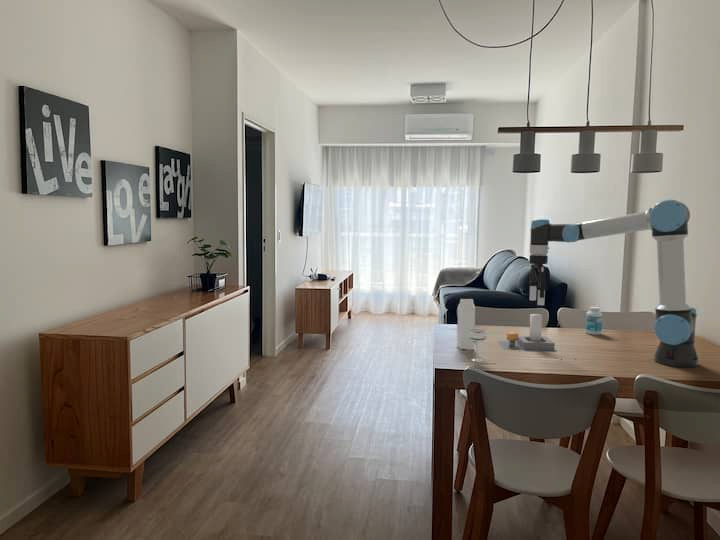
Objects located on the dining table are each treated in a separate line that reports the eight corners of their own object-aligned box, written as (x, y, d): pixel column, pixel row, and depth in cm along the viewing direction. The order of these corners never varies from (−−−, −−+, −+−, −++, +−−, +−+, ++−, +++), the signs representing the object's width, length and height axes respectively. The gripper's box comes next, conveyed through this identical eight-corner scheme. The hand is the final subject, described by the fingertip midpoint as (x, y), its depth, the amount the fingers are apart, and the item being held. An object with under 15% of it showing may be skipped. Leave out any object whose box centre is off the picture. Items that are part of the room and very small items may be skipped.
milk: (456, 346, 232) (457, 298, 230) (470, 346, 232) (471, 297, 231) (460, 349, 226) (461, 300, 224) (474, 349, 226) (475, 299, 224)
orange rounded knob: (519, 341, 228) (519, 334, 227) (508, 340, 228) (508, 334, 228) (516, 338, 233) (516, 332, 232) (505, 338, 233) (505, 331, 233)
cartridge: (542, 347, 227) (543, 316, 226) (530, 347, 228) (531, 315, 226) (539, 344, 232) (540, 314, 231) (527, 344, 232) (529, 313, 231)
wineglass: (482, 357, 213) (483, 329, 212) (487, 362, 206) (488, 332, 205) (466, 357, 212) (467, 329, 211) (470, 362, 206) (471, 332, 205)
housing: (556, 353, 221) (556, 344, 221) (504, 351, 223) (504, 342, 223) (545, 344, 237) (546, 335, 237) (497, 343, 239) (497, 334, 239)
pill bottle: (581, 332, 264) (583, 306, 262) (592, 331, 267) (593, 305, 266) (594, 335, 257) (595, 308, 256) (604, 334, 260) (606, 308, 259)
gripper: (556, 256, 213) (553, 307, 215) (539, 253, 238) (537, 298, 240) (537, 256, 214) (535, 307, 216) (523, 252, 239) (521, 298, 241)
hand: (536, 302), depth 228 cm, fingers open, 13 cm apart
